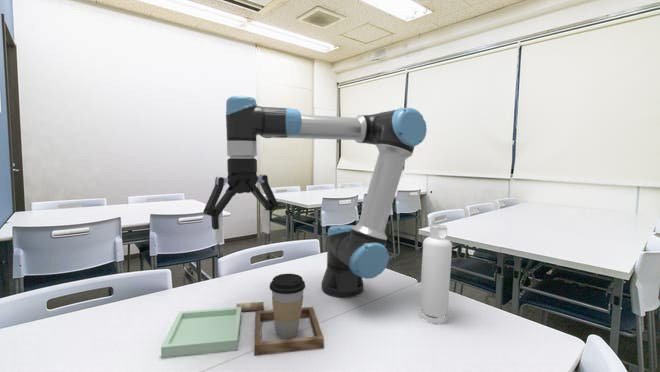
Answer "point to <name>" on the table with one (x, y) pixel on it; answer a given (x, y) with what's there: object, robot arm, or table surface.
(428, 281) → the bottle
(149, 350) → the table surface
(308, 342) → the walnut frame
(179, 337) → the sage tray
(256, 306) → the birch dowel
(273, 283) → the coffee cup
